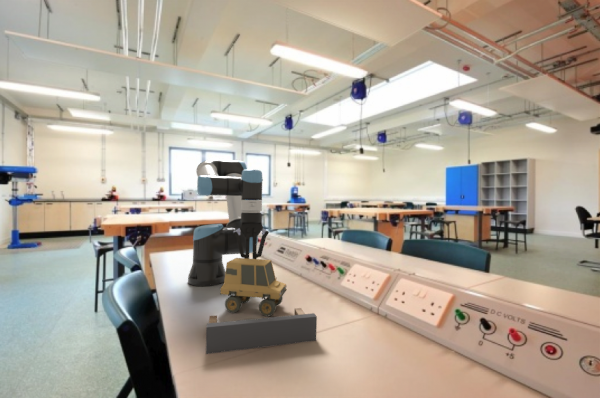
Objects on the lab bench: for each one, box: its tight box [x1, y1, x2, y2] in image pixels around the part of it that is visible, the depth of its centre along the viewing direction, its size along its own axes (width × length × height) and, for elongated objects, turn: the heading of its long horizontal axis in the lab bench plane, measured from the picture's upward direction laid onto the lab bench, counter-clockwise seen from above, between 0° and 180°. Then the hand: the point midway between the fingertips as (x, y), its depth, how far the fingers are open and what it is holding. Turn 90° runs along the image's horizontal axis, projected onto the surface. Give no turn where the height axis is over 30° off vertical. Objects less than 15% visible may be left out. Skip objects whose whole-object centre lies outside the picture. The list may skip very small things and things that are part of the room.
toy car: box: [219, 257, 287, 317], centre depth 88 cm, size 10×19×15 cm, turn 79°
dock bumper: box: [205, 312, 318, 355], centre depth 67 cm, size 2×26×6 cm, turn 105°
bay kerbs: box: [208, 307, 306, 323], centre depth 74 cm, size 12×26×2 cm, turn 105°
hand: (250, 276), depth 102 cm, fingers closed
